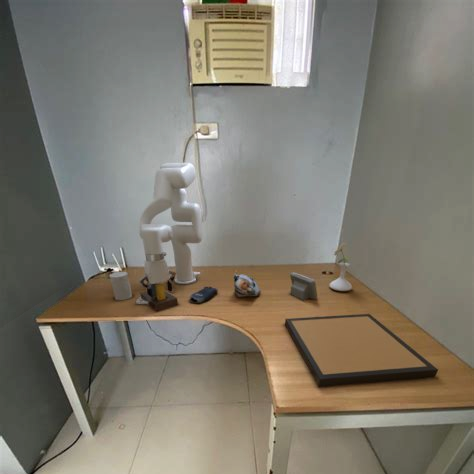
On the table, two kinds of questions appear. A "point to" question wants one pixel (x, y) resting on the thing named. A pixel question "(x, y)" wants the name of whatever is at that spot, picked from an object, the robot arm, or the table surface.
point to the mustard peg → (160, 291)
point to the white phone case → (141, 301)
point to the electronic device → (203, 294)
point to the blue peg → (153, 289)
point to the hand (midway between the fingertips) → (160, 293)
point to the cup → (120, 285)
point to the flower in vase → (341, 282)
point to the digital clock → (303, 286)
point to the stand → (157, 304)
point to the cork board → (355, 351)
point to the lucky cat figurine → (245, 286)
